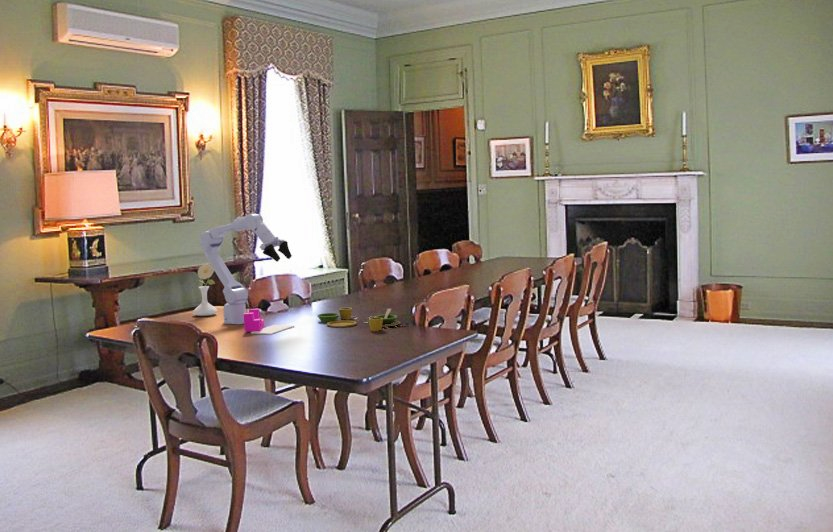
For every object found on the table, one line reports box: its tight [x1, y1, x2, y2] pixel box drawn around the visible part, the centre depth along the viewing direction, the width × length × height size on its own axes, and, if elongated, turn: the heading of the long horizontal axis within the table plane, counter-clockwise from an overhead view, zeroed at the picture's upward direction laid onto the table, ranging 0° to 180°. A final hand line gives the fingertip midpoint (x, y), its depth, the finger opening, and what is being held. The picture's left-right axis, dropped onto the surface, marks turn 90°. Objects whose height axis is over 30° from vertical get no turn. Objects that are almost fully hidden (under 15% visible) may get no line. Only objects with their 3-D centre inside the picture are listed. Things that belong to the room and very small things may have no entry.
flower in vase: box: [192, 263, 218, 317], centre depth 385 cm, size 13×11×25 cm
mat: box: [250, 324, 295, 336], centre depth 344 cm, size 10×18×1 cm, turn 157°
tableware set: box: [316, 307, 401, 332], centre depth 354 cm, size 41×28×6 cm
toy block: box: [243, 308, 265, 333], centre depth 347 cm, size 15×6×8 cm, turn 0°
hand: (284, 258), depth 349 cm, fingers open, 7 cm apart
